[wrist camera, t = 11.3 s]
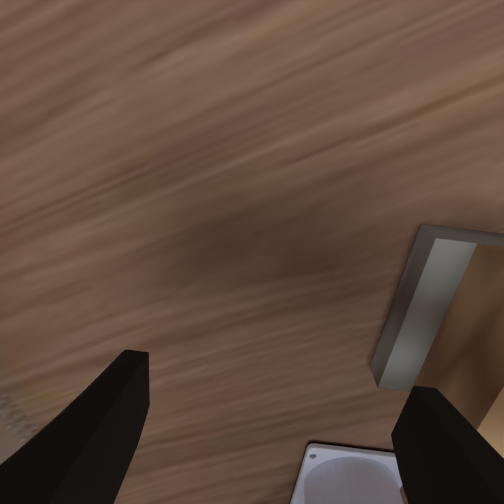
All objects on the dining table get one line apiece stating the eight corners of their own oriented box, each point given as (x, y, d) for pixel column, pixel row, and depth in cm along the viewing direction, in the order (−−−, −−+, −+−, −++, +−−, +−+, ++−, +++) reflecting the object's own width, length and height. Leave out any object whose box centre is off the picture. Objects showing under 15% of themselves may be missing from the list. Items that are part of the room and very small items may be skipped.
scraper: (474, 376, 23) (551, 489, 17) (369, 363, 23) (406, 471, 16) (550, 238, 18) (696, 322, 12) (419, 222, 18) (497, 297, 12)
